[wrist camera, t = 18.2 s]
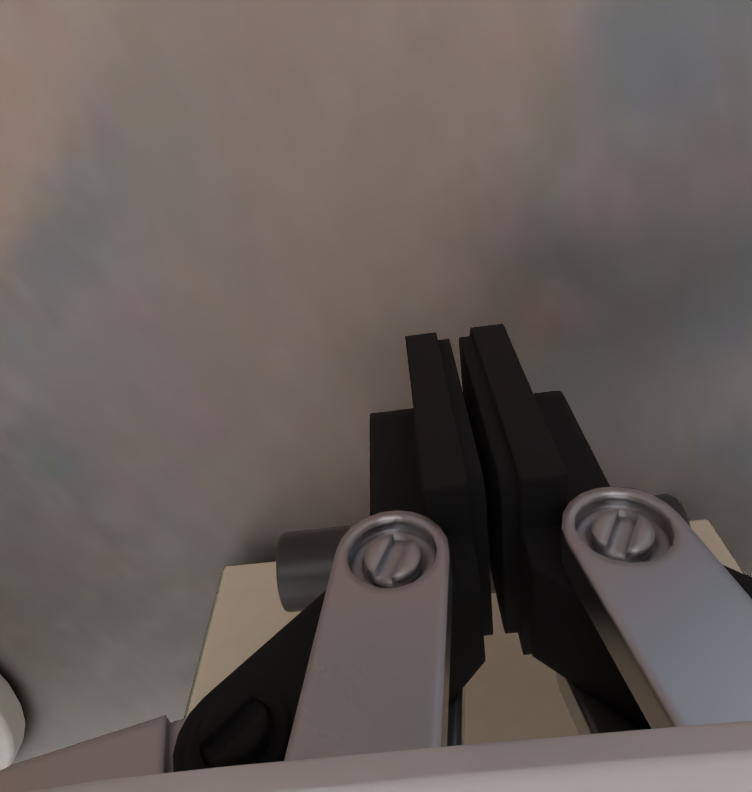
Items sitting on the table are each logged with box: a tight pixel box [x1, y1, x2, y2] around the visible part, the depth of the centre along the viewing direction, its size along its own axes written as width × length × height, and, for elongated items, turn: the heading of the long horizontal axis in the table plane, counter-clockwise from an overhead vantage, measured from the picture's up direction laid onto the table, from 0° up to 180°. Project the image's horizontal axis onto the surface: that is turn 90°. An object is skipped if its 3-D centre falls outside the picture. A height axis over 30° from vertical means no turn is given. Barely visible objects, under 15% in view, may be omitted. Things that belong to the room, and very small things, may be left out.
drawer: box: [186, 494, 744, 745], centre depth 16 cm, size 19×13×7 cm
